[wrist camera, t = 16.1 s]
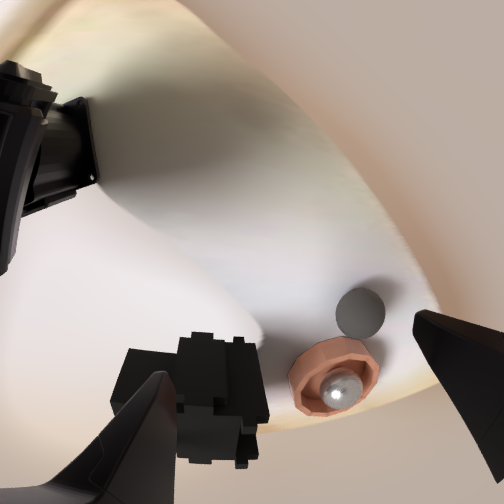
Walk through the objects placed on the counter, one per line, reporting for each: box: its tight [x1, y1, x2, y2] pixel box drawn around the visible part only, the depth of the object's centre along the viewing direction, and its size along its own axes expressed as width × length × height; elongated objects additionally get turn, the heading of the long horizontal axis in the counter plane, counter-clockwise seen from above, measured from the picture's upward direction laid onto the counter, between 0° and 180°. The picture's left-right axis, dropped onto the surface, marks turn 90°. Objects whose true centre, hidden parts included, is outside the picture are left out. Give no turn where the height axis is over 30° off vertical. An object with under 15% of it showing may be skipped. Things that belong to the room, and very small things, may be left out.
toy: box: [110, 332, 270, 469], centre depth 16 cm, size 8×14×10 cm
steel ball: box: [319, 367, 363, 409], centre depth 23 cm, size 4×4×4 cm
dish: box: [288, 336, 379, 417], centre depth 24 cm, size 8×8×2 cm
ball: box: [336, 288, 385, 339], centre depth 21 cm, size 4×4×4 cm
